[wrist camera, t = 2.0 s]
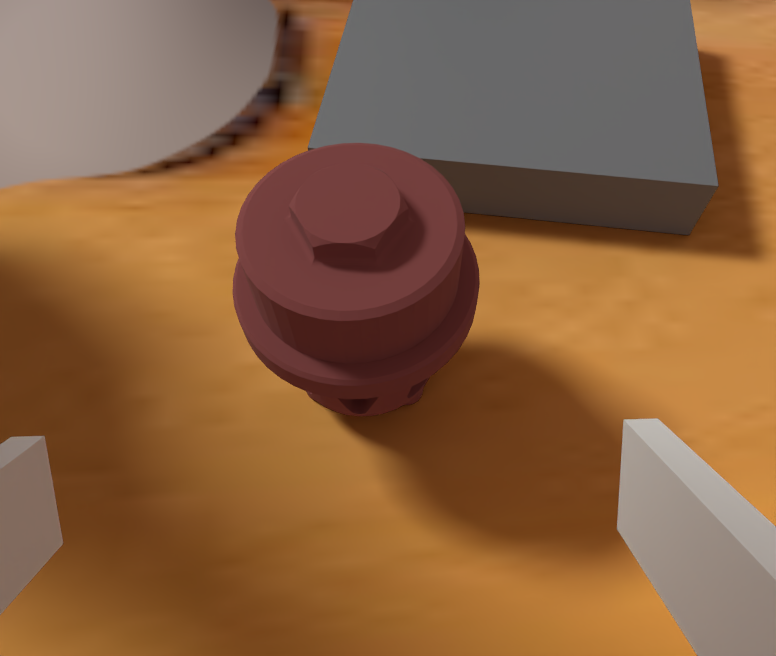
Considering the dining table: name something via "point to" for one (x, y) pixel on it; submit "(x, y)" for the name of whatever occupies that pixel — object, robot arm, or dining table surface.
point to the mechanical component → (355, 275)
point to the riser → (534, 105)
